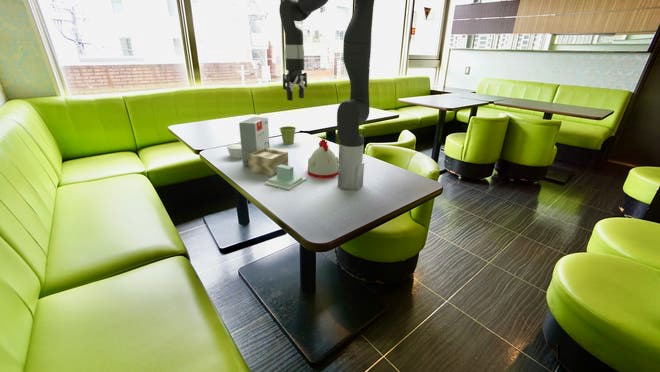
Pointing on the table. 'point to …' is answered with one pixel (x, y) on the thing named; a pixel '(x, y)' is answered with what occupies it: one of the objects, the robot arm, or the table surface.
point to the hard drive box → (253, 136)
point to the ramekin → (235, 150)
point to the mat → (283, 185)
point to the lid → (285, 176)
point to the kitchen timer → (323, 162)
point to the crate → (267, 161)
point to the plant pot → (288, 134)
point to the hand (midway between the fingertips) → (295, 99)
